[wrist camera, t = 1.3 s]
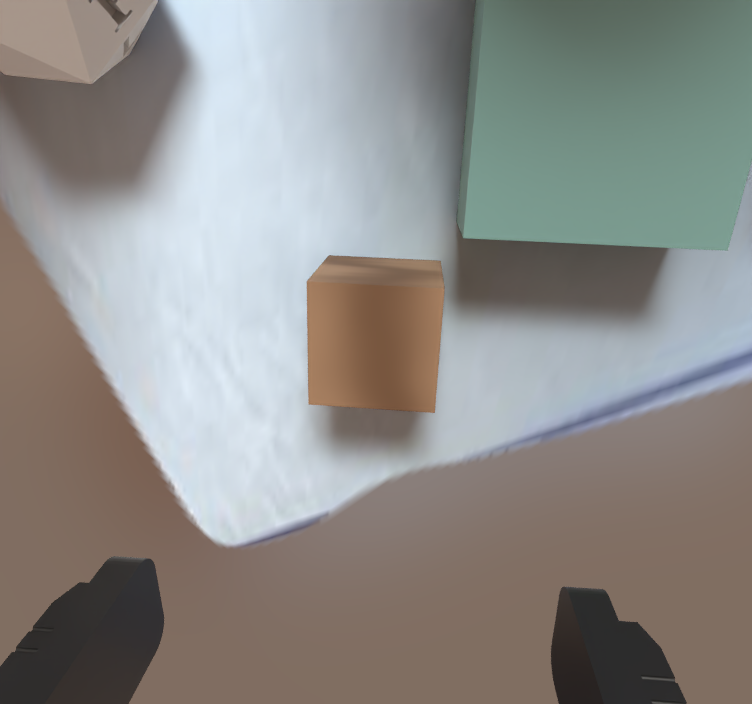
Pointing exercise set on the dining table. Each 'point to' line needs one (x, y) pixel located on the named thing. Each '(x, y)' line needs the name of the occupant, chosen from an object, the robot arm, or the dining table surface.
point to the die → (69, 36)
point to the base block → (607, 122)
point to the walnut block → (374, 333)
